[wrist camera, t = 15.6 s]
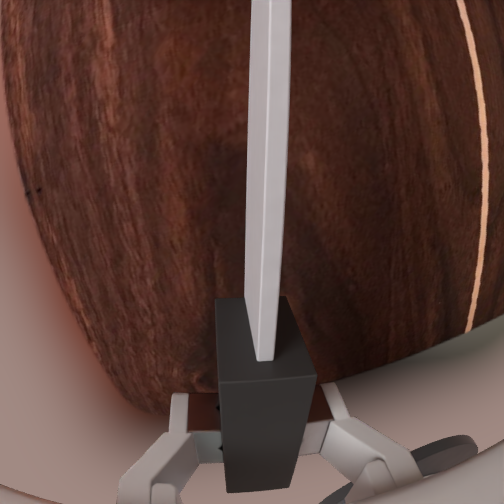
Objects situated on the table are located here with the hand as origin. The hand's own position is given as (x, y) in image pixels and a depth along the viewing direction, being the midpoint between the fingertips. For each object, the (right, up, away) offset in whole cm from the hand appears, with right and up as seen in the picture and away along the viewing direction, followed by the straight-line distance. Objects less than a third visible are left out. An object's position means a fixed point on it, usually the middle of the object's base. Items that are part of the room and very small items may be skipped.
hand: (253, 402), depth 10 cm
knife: (0, +5, 0) cm, 5 cm away
